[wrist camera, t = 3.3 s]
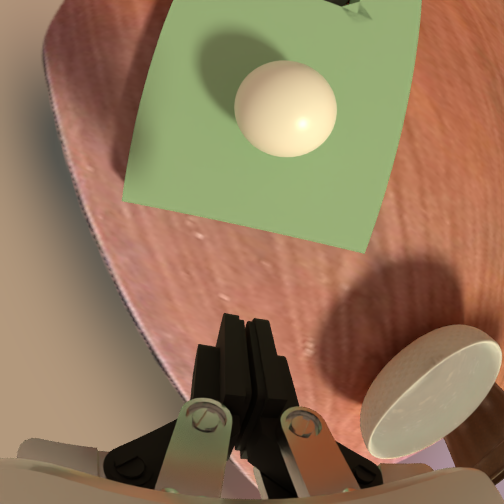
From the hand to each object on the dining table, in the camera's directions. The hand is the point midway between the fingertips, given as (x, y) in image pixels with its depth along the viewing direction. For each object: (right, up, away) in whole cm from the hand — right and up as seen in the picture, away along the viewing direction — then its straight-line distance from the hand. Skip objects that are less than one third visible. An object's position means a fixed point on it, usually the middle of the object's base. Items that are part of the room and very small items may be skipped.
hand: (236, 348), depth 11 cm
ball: (+2, +11, +2) cm, 11 cm away
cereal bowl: (+19, -9, +17) cm, 27 cm away
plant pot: (+36, -22, +23) cm, 48 cm away
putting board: (+3, +17, +5) cm, 18 cm away
